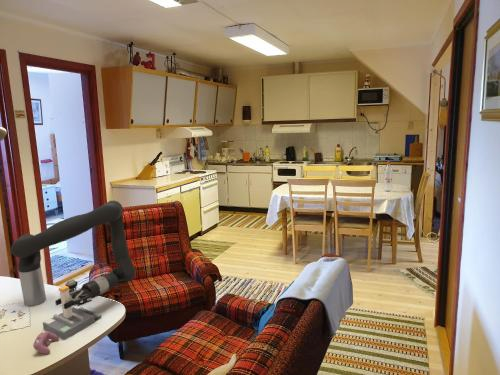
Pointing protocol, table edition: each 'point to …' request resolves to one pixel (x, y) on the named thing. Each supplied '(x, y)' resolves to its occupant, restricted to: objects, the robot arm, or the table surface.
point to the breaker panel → (68, 323)
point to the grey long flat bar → (91, 313)
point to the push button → (71, 284)
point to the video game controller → (44, 341)
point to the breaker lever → (64, 299)
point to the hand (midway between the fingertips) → (60, 305)
